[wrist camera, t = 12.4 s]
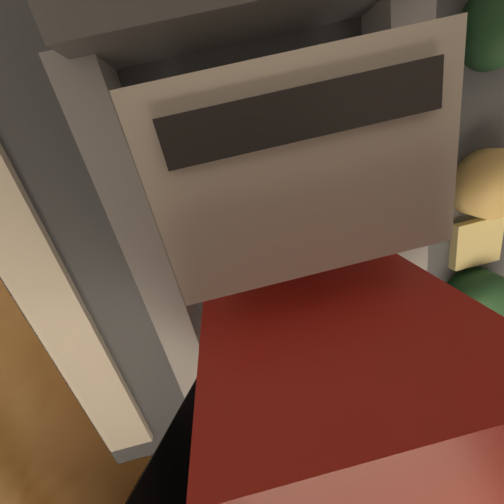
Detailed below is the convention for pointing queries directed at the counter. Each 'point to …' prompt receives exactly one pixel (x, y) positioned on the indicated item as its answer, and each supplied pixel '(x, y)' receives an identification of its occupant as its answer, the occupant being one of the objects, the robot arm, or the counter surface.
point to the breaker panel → (135, 199)
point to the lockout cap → (349, 392)
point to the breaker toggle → (301, 156)
